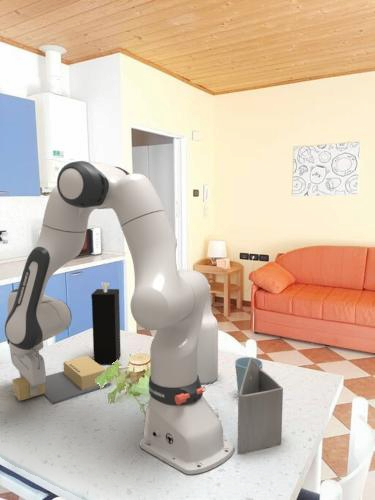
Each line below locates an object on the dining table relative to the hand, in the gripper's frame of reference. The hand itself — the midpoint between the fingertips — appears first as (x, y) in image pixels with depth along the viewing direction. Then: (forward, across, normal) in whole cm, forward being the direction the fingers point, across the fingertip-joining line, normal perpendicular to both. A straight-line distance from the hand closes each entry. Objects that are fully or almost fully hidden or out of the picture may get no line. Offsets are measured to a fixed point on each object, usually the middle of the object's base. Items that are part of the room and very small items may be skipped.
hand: (29, 389), depth 114 cm
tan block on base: (+2, 0, -12) cm, 13 cm away
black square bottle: (+2, +9, -30) cm, 31 cm away
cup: (+2, -40, -48) cm, 63 cm away
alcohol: (+2, -23, -46) cm, 52 cm away
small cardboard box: (+1, 0, 0) cm, 1 cm away
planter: (+2, -56, -37) cm, 67 cm away
